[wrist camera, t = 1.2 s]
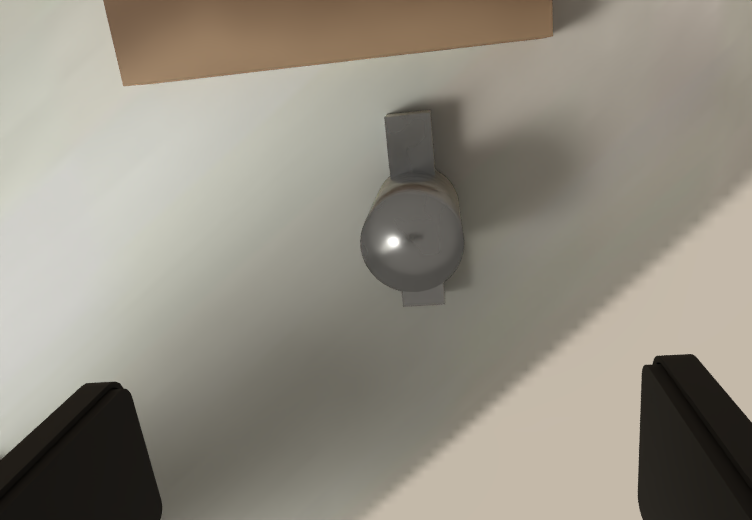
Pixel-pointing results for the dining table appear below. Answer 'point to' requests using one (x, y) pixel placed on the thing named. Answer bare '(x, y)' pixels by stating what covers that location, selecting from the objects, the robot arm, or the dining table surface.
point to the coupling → (413, 216)
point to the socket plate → (303, 32)
